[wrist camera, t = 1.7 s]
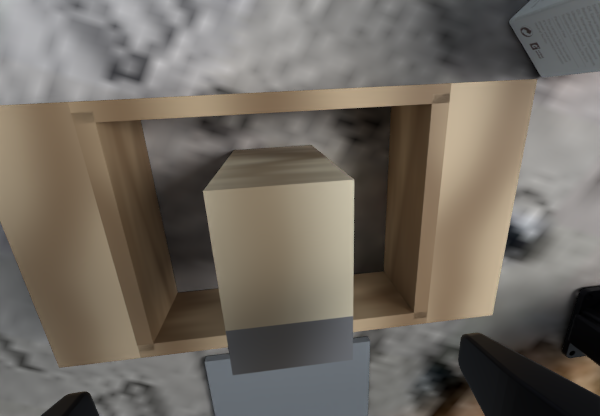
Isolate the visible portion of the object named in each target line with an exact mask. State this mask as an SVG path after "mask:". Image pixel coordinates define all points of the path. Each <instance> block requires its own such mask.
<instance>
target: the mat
mask: <svg viewBox="0 0 600 416" xmlns="http://www.w3.org/2000/svg"><path fill="white" fill-rule="evenodd" d="M369 362H370V340H369V338H368V336H367V337H359V338H353V360H347V361H340V362H332V363H324V364H317V365H309V366H301V367H294V368H286V369H278V370H271V371H263V372H255V373H247V374H240V375H233V374H232V368H231V362H230V356H229V354H221V355H213V356H206V358H205V366H206V371H207V377H208V382H209V387H210V392H211V397H212V402H213V407H214V412H215V416H368V394H369Z"/></svg>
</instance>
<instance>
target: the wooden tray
mask: <svg viewBox="0 0 600 416" xmlns="http://www.w3.org/2000/svg"><path fill="white" fill-rule="evenodd" d="M536 83H537V79H527V80H506V81H486V82H466V83H445V84H425V85H405V86H385V87H364V88H344V89H324V90H303V91H283V92H263V93H242V94H222V95H202V96H181V97H161V98H141V99H121V100H100V101H80V102H60V103H39V104H19V105H0V222H1V224H2V227H3V229H4V232H5V234H6V237H7V239H8V242H9V244H10V247H11V249H12V252H13V254H14V257H15V259H16V262H17V264H18V267H19V269H20V272H21V274H22V277H23V279H24V281H25V284H26V286H27V289H28V291H29V294H30V296H31V299H32V301H33V304H34V306H35V309H36V311H37V314H38V316H39V319H40V321H41V324H42V326H43V329H44V331H45V334H46V336H47V338H48V341H49V343H50V346H51V348H52V351H53V353H54V356H55V358H56V361H57V363H58V366H59V368H61V367H70V366H78V365H86V364H94V363H102V362H111V361H119V360H127V359H135V358H144V357H152V356H160V355H168V354H177V353H185V352H193V351H201V350H209V349H218V348H226V347H228V343H227V337H226V331H225V325H224V319H223V312H222V306H221V300H220V294H219V289H209V290H200V291H190V292H180V293H178V292H177V287H176V283H175V278H174V273H173V269H172V264H171V259H170V255H169V250H168V245H167V241H166V236H165V231H164V227H163V222H162V217H161V213H160V208H159V203H158V199H157V194H156V189H155V185H154V180H153V175H152V171H151V166H150V162H149V157H148V152H147V148H146V143H145V138H144V134H143V129H142V124H141V120H148V119H166V118H184V117H202V116H221V115H239V114H257V113H275V112H293V111H311V110H329V109H347V108H366V107H384V106H391V120H390V142H389V164H388V186H387V209H386V231H385V253H384V271H381V272H372V273H362V274H354V276H353V332H358V331H366V330H374V329H382V328H390V327H399V326H407V325H415V324H423V323H432V322H440V321H448V320H456V319H464V318H473V317H481V316H489V315H493V309H494V304H495V299H496V294H497V288H498V283H499V278H500V273H501V267H502V262H503V257H504V252H505V246H506V241H507V236H508V230H509V225H510V220H511V215H512V209H513V204H514V199H515V194H516V188H517V183H518V178H519V173H520V167H521V162H522V157H523V151H524V146H525V141H526V136H527V130H528V125H529V120H530V115H531V109H532V104H533V99H534V94H535V88H536Z"/></svg>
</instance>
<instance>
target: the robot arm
mask: <svg viewBox="0 0 600 416" xmlns="http://www.w3.org/2000/svg"><path fill="white" fill-rule="evenodd" d="M562 353H563V354H564V355H565V356H567V357H568V358H574V357H581V356H587V357H589V358H590V359H591V360H593V361H594V362H595V363H596V364H598V365H599V366H600V287H592V288H585V289H583V290H581V291H580V292H579V295H578V298H577V301H576V305H575V308H574V312H573V315H572V318H571V322H570V325H569V329H568V332H567V335H566V339H565V342H564V346H563V349H562ZM458 361H459V366H460V369H461V371H462V373H463V375H464V377H465V379H466V381H467V382H468V384H469V386H470V388H471V390H472V392H473V394H474V396H475V398H476V399H477V401H478V403H479V405H480V407H481V409H482V411H483V413H484V415H485V416H600V396H598V395H596V394H594V393H592V392H591V391H589V390H587V389H585V388H583V387H581V386H579V385H577V384H575V383H574V382H572V381H570V380H568V379H566V378H564V377H562V376H560V375H558V374H557V373H555V372H553V371H551V370H549V369H547V368H545V367H543V366H541V365H540V364H538V363H536V362H534V361H532V360H530V359H528V358H526V357H524V356H523V355H521V354H519V353H517V352H515V351H513V350H511V349H509V348H507V347H506V346H504V345H502V344H500V343H498V342H496V341H494V340H492V339H491V338H489V337H487V336H485V335H483V334H481V333H470V334H464V335H463V336H462V337H461V342H460V350H459V358H458ZM41 416H99V414H98V411H97V409H96V407H95V404H94V402H93V399H92V397H91V395H90V393H88V392H78V393H72V394H68V395H66V396H64V397H63V398H62V399H61V400H59V401H58V402H57V403H56V404H54V405H53V406H52V407H51V408H50V409H48V410H47V411H46V412H45V413H43V414H42V415H41Z"/></svg>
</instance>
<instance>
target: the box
mask: <svg viewBox="0 0 600 416" xmlns="http://www.w3.org/2000/svg"><path fill="white" fill-rule="evenodd" d="M203 195H204V201H205V208H206V214H207V220H208V226H209V232H210V238H211V245H212V251H213V257H214V263H215V269H216V275H217V282H218V288H219V294H220V300H221V306H222V312H223V319H224V325H225V331H226V337H227V343H228V349H229V356H230V362H231V368H232V374H233V375H240V374H247V373H255V372H263V371H271V370H278V369H286V368H294V367H301V366H309V365H317V364H324V363H332V362H340V361H347V360H353V276H354V179H353V178H352V177H350V176H349V175H348V174H347V173H345V172H344V171H343V170H342V169H340V168H339V167H338V166H337V165H335V164H334V163H333V162H332V161H330V160H329V159H328V158H327V157H326V156H324V155H323V154H322V153H321V152H319V151H318V150H317V149H316V148H314V147H313V146H312V145H306V146H291V147H275V148H260V149H245V150H234V151H233V152H232V154H231V155H230V156H229V157H228V159H227V160H226V161H225V163H224V164H223V165H222V167H221V168H220V169H219V171H218V172H217V173H216V175H215V176H214V177H213V179H212V180H211V181H210V182H209V184H208V185H207V186H206V188H205V189H204V190H203Z"/></svg>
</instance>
